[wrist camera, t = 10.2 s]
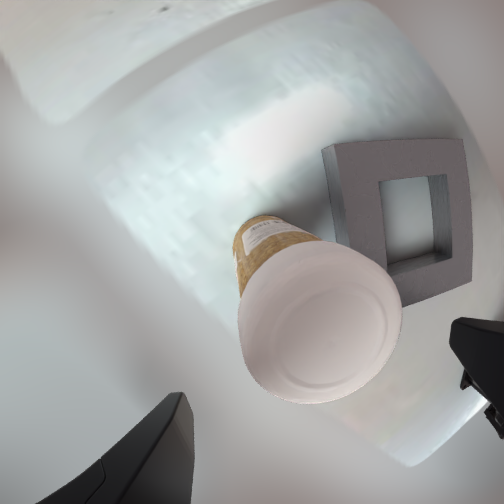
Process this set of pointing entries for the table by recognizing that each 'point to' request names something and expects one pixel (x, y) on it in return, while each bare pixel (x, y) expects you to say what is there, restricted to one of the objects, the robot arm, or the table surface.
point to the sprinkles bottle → (311, 312)
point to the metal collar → (371, 218)
